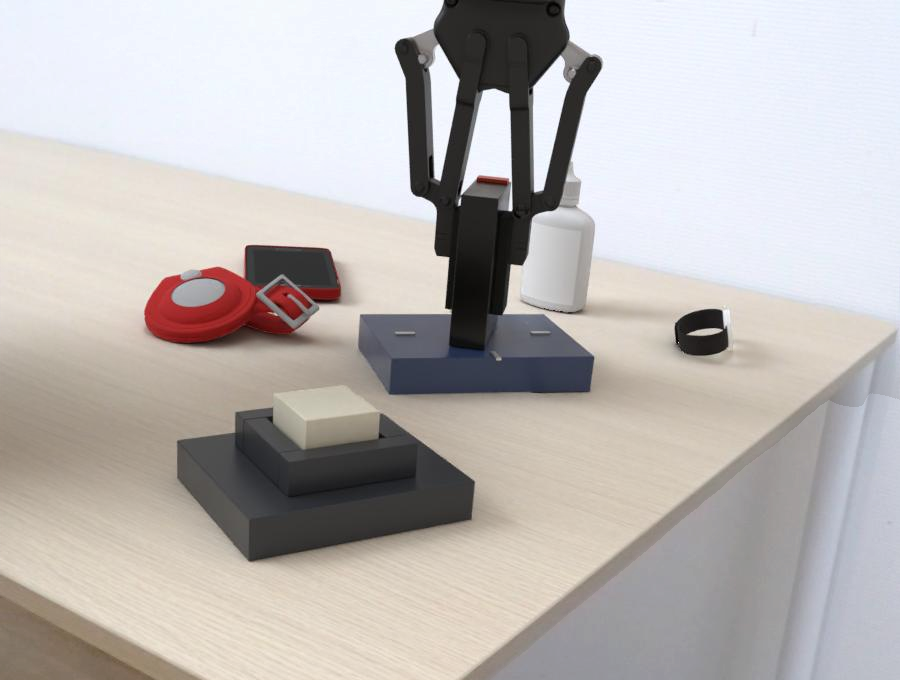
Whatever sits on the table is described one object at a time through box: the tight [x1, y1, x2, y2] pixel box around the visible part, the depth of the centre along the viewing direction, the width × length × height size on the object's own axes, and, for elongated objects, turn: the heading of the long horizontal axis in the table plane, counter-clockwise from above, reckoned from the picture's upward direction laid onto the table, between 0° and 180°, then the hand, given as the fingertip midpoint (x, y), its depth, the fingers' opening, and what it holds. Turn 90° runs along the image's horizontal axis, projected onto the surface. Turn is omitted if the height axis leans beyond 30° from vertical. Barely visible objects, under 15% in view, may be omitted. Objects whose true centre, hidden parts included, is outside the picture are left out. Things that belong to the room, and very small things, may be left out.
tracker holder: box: [143, 266, 320, 344], centre depth 86 cm, size 12×4×10 cm
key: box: [272, 384, 381, 450], centre depth 59 cm, size 4×4×2 cm
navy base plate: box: [357, 309, 595, 396], centre depth 81 cm, size 14×11×3 cm
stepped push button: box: [176, 406, 476, 563], centre depth 60 cm, size 12×10×4 cm
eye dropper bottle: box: [519, 160, 596, 313], centre depth 97 cm, size 4×6×12 cm
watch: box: [673, 304, 735, 357], centre depth 90 cm, size 8×5×4 cm, turn 170°
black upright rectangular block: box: [449, 174, 512, 350], centre depth 79 cm, size 7×2×10 cm, turn 171°
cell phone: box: [243, 244, 342, 301], centre depth 100 cm, size 8×15×1 cm, turn 9°
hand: (476, 306), depth 80 cm, fingers closed on black upright rectangular block, 2 cm apart
